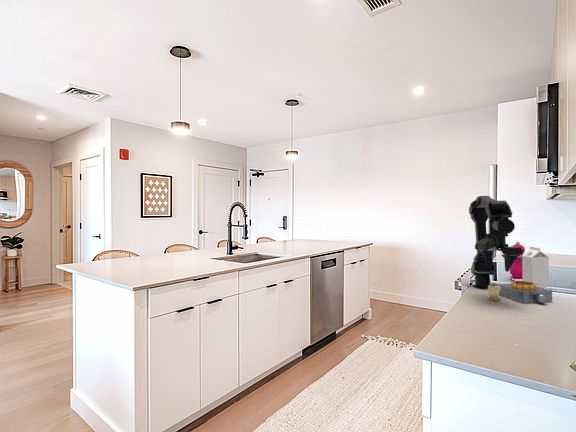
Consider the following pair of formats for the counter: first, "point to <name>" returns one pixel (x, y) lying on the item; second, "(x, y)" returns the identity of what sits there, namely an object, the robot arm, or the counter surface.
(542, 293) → the gearbox
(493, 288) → the beige cylinder
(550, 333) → the counter surface
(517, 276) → the pepper mill
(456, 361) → the counter surface
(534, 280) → the milk carton
